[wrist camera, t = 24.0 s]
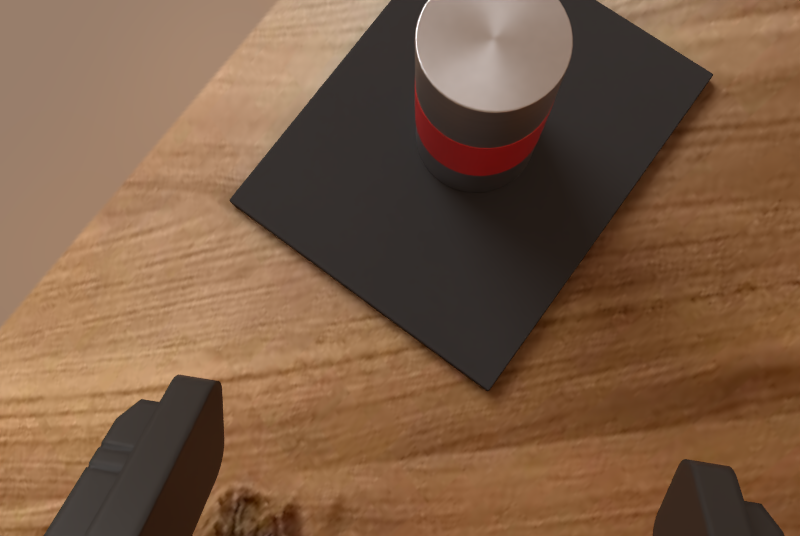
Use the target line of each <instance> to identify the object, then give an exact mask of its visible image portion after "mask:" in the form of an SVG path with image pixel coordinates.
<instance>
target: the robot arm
mask: <svg viewBox="0 0 800 536" xmlns="http://www.w3.org/2000/svg"><path fill="white" fill-rule="evenodd" d="M223 451H224V423H223V400H222V386H221V383H220V382H219V381H215V380H209V379H202V378H196V377H190V376H184V375H177V376H175V377H174V378H173V380H172V381H171V383H170V385H169V387H168V388H167V390H166V392H165V394H164V395H163V397H162V399H161V401H160V402H155V401H149V400H143V399H141V400H140V401H138V402H137V403H136V404H134V405H133V406H132V407H131V408H129V409H128V410H127V411H125V412H124V413H123V414H122V415H120V416H119V417H118V418H117V419H116V420H115V422H114V423H113V425H112V427H111V428H110V430H109V431H108V433H107V435H106V436H105V438H104V439H103V441H102V445H101V447H99V448H98V449H97V451H96V452H95V454H94V456H93V457H92V459H91V460H90V462H89V467H88V468H87V467H86V468H85V470H84V472H83V473H82V475H81V477H80V478H79V480H78V481H77V483H76V485H75V486H74V488H73V489H72V491H71V493H70V494H69V496H68V497H67V499H66V501H65V502H64V504H63V506H62V507H61V509H60V510H59V512H58V514H57V515H56V517H55V518H54V520H53V522H52V523H51V525H50V526H49V528H48V530H47V531H46V533H45V534H44V536H192V534H193V532H194V530H195V527H196V525H197V523H198V520H199V518H200V516H201V513H202V511H203V509H204V506H205V504H206V502H207V499H208V497H209V495H210V492H211V490H212V487H213V485H214V483H215V480H216V478H217V475H218V473H219V469H220V466H221V462H222V457H223ZM653 536H784V534H783V531H782V530H781V529H780V528H779V526H778V525H777V524H776V522H775V521H774V520H773V519H772V517H771V516H770V515H769V513H768V512H767V511H766V510H765V508H764V507H763V506H762V504H759V503H753V502H747V501H744V499H743V496H742V493H741V490H740V486H739V483H738V480H737V477H736V474H735V472H734V470H733V469H732V468H731V467H729V466H724V465H718V464H711V463H705V462H699V461H693V460H687V459H684V460H683V461H681V463H680V464H679V466H678V468H677V470H676V473H675V475H674V477H673V479H672V482H671V484H670V486H669V489H668V491H667V493H666V495H665V498H664V500H663V502H662V504H661V507H660V509H659V511H658V513H657V516H656V519H655V523H654V529H653Z"/></svg>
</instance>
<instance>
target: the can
mask: <svg viewBox="0 0 800 536" xmlns="http://www.w3.org/2000/svg"><path fill="white" fill-rule="evenodd" d="M572 49H573V35H572V28H571V24H570V21H569V18H568V15H567V13H566V11H565V9H564V7H563V6H562V4H561V2H560V1H559V0H428V1H427V3H426V4H425V5H424V7H423V9H422V11H421V13H420V16H419V19H418V22H417V26H416V31H415V120H416V142H417V148H418V152H419V155H420V157H421V160H422V161H423V163H424V165H425V166H426V168H427V169H428V171H429V172H430V173H431V174H432V175H433V176H434V177H435V178H436V179H438V180H439V181H440V182H442V183H443V184H445V185H447V186H449V187H451V188H453V189H456V190H460V191H464V192H472V193H480V192H488V191H492V190H495V189H498V188H501V187H503V186H505V185H507V184H508V183H510V182H511V181H513V180H514V179H515V178H516V177H517V176H518V175H519V174H520V173H521V172H522V171H523V170H524V168H525V167H526V165H527V164H528V162H529V160H530V157H531V155H532V153H533V150H534V148H535V146H536V144H537V142H538V140H539V137H540V135H541V133H542V130H543V128H544V125H545V123H546V121H547V118H548V116H549V113H550V111H551V109H552V106H553V103H554V100H555V97H556V95H557V92H558V90H559V87H560V85H561V83H562V80H563V78H564V75H565V73H566V70H567V68H568V66H569V62H570V59H571V55H572Z"/></svg>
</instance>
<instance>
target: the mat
mask: <svg viewBox="0 0 800 536" xmlns="http://www.w3.org/2000/svg"><path fill="white" fill-rule="evenodd" d="M427 1H428V0H391V1H390V2H389V4H388V5H387V6H386V7H385V9H384V10H383V11H382V12H381V13H380V15H379V16H378V17H377V18H376V20H375V21H374V22H373V23H372V25H371V26H370V27H369V28H368V30H367V31H366V32H365V33H364V34H363V36H362V37H361V38H360V39H359V41H358V42H357V43H356V44H355V46H354V47H353V48H352V49H351V51H350V52H349V53H348V54H347V55H346V57H345V58H344V59H343V60H342V62H341V63H340V64H339V65H338V67H337V68H336V69H335V70H334V72H333V73H332V74H331V75H330V76H329V78H328V79H327V80H326V81H325V83H324V84H323V85H322V86H321V88H320V89H319V90H318V91H317V92H316V94H315V95H314V96H313V97H312V99H311V100H310V101H309V102H308V104H307V105H306V106H305V107H304V109H303V110H302V111H301V112H300V113H299V115H298V116H297V117H296V118H295V120H294V121H293V122H292V123H291V125H290V126H289V127H288V128H287V130H286V131H285V132H284V133H283V134H282V136H281V137H280V138H279V139H278V141H277V142H276V143H275V144H274V146H273V147H272V148H271V149H270V150H269V152H268V153H267V154H266V155H265V157H264V158H263V159H262V160H261V162H260V163H259V164H258V165H257V167H256V168H255V169H254V170H253V171H252V173H251V174H250V175H249V176H248V178H247V179H246V180H245V181H244V183H243V184H242V185H241V186H240V188H239V189H238V190H237V191H236V192H235V194H234V195H233V196H232V197H231V199H230V202H231V203H232V204H233V205H235V206H236V207H237V208H239V209H240V210H242V211H243V212H244V213H246V214H247V215H248V216H250V217H251V218H252V219H254V220H255V221H256V222H258V223H259V224H261V225H262V226H263V227H265V228H266V229H267V230H269V231H270V232H271V233H273V234H274V235H276V236H277V237H278V238H280V239H281V240H282V241H284V242H285V243H286V244H288V245H289V246H291V247H292V248H293V249H295V250H296V251H297V252H299V253H300V254H301V255H303V256H304V257H305V258H307V259H308V260H310V261H311V262H312V263H314V264H315V265H316V266H318V267H319V268H320V269H322V270H323V271H325V272H326V273H327V274H329V275H330V276H331V277H333V278H334V279H335V280H337V281H338V282H339V283H341V284H342V285H344V286H345V287H346V288H348V289H349V290H350V291H352V292H353V293H354V294H356V295H357V296H359V297H360V298H361V299H363V300H364V301H365V302H367V303H368V304H369V305H371V306H372V307H374V308H375V309H376V310H378V311H379V312H380V313H382V314H383V315H384V316H386V317H387V318H388V319H390V320H391V321H393V322H394V323H395V324H397V325H398V326H399V327H401V328H402V329H403V330H405V331H406V332H408V333H409V334H410V335H412V336H413V337H414V338H416V339H417V340H418V341H420V342H421V343H422V344H424V345H425V346H427V347H428V348H429V349H431V350H432V351H433V352H435V353H436V354H437V355H439V356H440V357H442V358H443V359H444V360H446V361H447V362H448V363H450V364H451V365H452V366H454V367H455V368H456V369H458V370H459V371H461V372H462V373H463V374H465V375H466V376H467V377H469V378H470V379H471V380H473V381H474V382H476V383H477V384H478V385H480V386H481V387H482V388H484V389H485V390H486V391H489V390H490V388H491V387H492V386H493V384H494V383H495V381H496V380H497V379H498V377H499V376H500V374H501V373H502V372H503V370H504V369H505V367H506V366H507V365H508V363H509V362H510V360H511V359H512V357H513V356H514V355H515V353H516V352H517V350H518V349H519V348H520V346H521V345H522V343H523V342H524V341H525V339H526V338H527V336H528V335H529V334H530V332H531V331H532V329H533V328H534V327H535V325H536V324H537V322H538V321H539V319H540V318H541V317H542V315H543V314H544V312H545V311H546V310H547V308H548V307H549V305H550V304H551V303H552V301H553V300H554V298H555V297H556V296H557V294H558V293H559V291H560V290H561V289H562V287H563V286H564V284H565V283H566V281H567V280H568V279H569V277H570V276H571V274H572V273H573V272H574V270H575V269H576V267H577V266H578V265H579V263H580V262H581V260H582V259H583V258H584V256H585V255H586V253H587V252H588V251H589V249H590V248H591V246H592V245H593V244H594V242H595V241H596V239H597V238H598V236H599V235H600V234H601V232H602V231H603V229H604V228H605V227H606V225H607V224H608V222H609V221H610V220H611V218H612V217H613V215H614V214H615V213H616V211H617V210H618V208H619V207H620V206H621V204H622V203H623V201H624V200H625V198H626V197H627V196H628V194H629V193H630V191H631V190H632V189H633V187H634V186H635V184H636V183H637V182H638V180H639V179H640V177H641V176H642V175H643V173H644V172H645V170H646V169H647V168H648V166H649V165H650V163H651V162H652V160H653V159H654V158H655V156H656V155H657V153H658V152H659V151H660V149H661V148H662V146H663V145H664V144H665V142H666V141H667V139H668V138H669V137H670V135H671V134H672V132H673V131H674V130H675V128H676V127H677V125H678V124H679V122H680V121H681V120H682V118H683V117H684V115H685V114H686V113H687V111H688V110H689V108H690V107H691V106H692V104H693V103H694V101H695V100H696V99H697V97H698V96H699V94H700V93H701V92H702V90H703V89H704V87H705V86H706V84H707V83H708V82H709V80H710V79H711V77H712V76H713V74H712V73H710V72H709V71H707V70H706V69H704V68H702V67H701V66H699V65H698V64H696V63H694V62H693V61H691V60H690V59H688V58H687V57H685V56H683V55H682V54H680V53H679V52H677V51H675V50H674V49H672V48H671V47H669V46H667V45H666V44H664V43H663V42H661V41H660V40H658V39H656V38H655V37H653V36H652V35H650V34H648V33H647V32H645V31H644V30H642V29H641V28H639V27H637V26H636V25H634V24H633V23H631V22H629V21H628V20H626V19H625V18H623V17H621V16H620V15H618V14H617V13H615V12H614V11H612V10H610V9H609V8H607V7H606V6H604V5H602V4H601V3H599V2H598V1H596V0H559V1H560V2H561V4H562V6H563V7H564V9H565V11H566V13H567V15H568V18H569V21H570V24H571V28H572V35H573V49H572V55H571V59H570V62H569V66H568V68H567V70H566V73H565V75H564V78H563V80H562V83H561V85H560V87H559V90H558V92H557V95H556V97H555V100H554V103H553V106H552V109H551V111H550V113H549V116H548V118H547V121H546V123H545V125H544V128H543V130H542V133H541V135H540V137H539V140H538V142H537V144H536V146H535V148H534V150H533V153H532V155H531V157H530V160H529V162H528V164H527V165H526V167H525V168H524V170H523V171H522V172H521V173H520V174H519V175H518V176H517V177H516V178H515V179H514V180H513V181H511V182H510V183H508V184H507V185H505V186H503V187H501V188H498V189H495V190H492V191H488V192H480V193H472V192H464V191H460V190H456V189H453V188H451V187H449V186H447V185H445V184H443V183H442V182H440V181H439V180H438V179H436V178H435V177H434V176H433V175H432V174H431V173H430V172H429V171H428V169H427V168H426V166H425V165H424V163H423V161H422V160H421V157H420V155H419V152H418V148H417V142H416V120H415V31H416V26H417V22H418V19H419V16H420V13H421V11H422V9H423V7H424V5H425V4H426V3H427Z"/></svg>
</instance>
